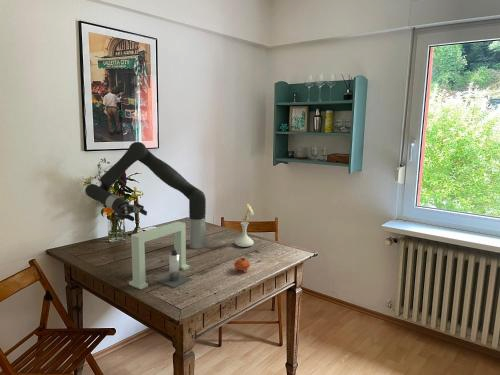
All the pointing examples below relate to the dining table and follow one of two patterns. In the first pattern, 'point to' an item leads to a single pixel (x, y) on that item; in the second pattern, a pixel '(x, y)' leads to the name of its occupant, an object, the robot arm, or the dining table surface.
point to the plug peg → (174, 266)
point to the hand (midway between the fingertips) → (140, 216)
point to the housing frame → (151, 234)
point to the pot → (242, 264)
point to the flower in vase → (244, 239)
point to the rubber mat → (176, 283)
